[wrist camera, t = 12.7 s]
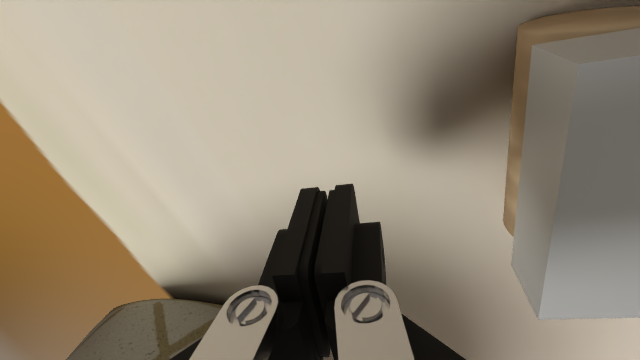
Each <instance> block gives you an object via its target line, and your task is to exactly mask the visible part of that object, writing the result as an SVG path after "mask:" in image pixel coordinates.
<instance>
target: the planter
mask: <svg viewBox="0 0 640 360" xmlns="http://www.w3.org/2000/svg"><path fill="white" fill-rule="evenodd" d="M222 307H223V305H218V304H212V303H206V302H200V301H192V300H183V299H152V300H143V301H137V302H132V303H128V304H124V305H121V306H118V307H116V308H114V309H113V310H112V311H110V312H109V314H107V315H106V316H105V317H104V318H103V320H102V321H100V322H99V323H98V324H97V325H96V326H95V327H94V328H93V329H92V330H91V331H90V333H89V334H88V335H87V336H86V337H85V338H84V339H83V341H82V342H81V343H80V344H79V345H78V346H77V347H76V349H75V350H74V351H73V352H72V353H71V354H70V355H69V357H68V358H67V359H66V360H169V359H171V358H172V357H174V356H175V355H177V354H178V353H180V352H181V351H183V350H184V349H186V348H187V347H189V346H190V345H192V344H193V343H195V342H196V341H198V340H199V339H201V338H202V337H204V335H205V334H206V332H207V330H208V329H209V327H210V326H211V324H212V323H213V321H214V319H215V318H216V316H217V315H218V313H219V311H220V310H221V308H222Z"/></svg>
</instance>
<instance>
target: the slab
mask: <svg viewBox="0 0 640 360" xmlns="http://www.w3.org/2000/svg"><path fill="white" fill-rule="evenodd" d="M511 266H512V268H513V270H514V272H515V274H516V276H517V278H518V280H519V282H520V284H521V286H522V288H523V290H524V292H525V294H526V296H527V298H528V300H529V302H530V304H531V306H532V308H533V310H534V312H535V314H536V316H537V318H538V320H550V319H597V318H640V28H636V29H630V30H623V31H617V32H611V33H604V34H598V35H592V36H585V37H579V38H573V39H567V40H560V41H554V42H548V43H541V44H535V45H532V52H531V62H530V73H529V83H528V94H527V104H526V115H525V125H524V136H523V146H522V157H521V167H520V178H519V188H518V199H517V209H516V220H515V230H514V241H513V251H512V262H511Z"/></svg>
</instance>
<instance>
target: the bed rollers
mask: <svg viewBox="0 0 640 360" xmlns="http://www.w3.org/2000/svg"><path fill="white" fill-rule="evenodd" d="M636 28H640V6H630V7H612V8H600V9H591V10H582V11H575V12H568V13H562V14H556V15H551V16H546V17H541V18H537V19H534V20H530V21H527V22H525V23H522V24H521V25H519V26H518V29H517V42H516V56H515V69H514V82H513V96H512V109H511V122H510V136H509V149H508V162H507V175H506V189H505V202H504V215H503V222H504V225H505V227H506V229H507V230H508V232H509V233H510V234H511V235H512V236H514V230H515V220H516V209H517V199H518V188H519V178H520V167H521V157H522V146H523V136H524V125H525V115H526V104H527V94H528V83H529V73H530V62H531V52H532V45H535V44H541V43H548V42H554V41H560V40H567V39H573V38H579V37H585V36H592V35H598V34H604V33H611V32H617V31H623V30H630V29H636Z"/></svg>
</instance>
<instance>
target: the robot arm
mask: <svg viewBox="0 0 640 360" xmlns="http://www.w3.org/2000/svg"><path fill="white" fill-rule="evenodd" d="M330 348H331V350H332V354H333V358H334V360H466V359H464V358H463V357H462V356H460V355H459V354H457V353H456V352H455V351H453V350H452V349H450V348H449V347H448V346H446V345H445V344H443V343H442V342H440V341H439V340H438V339H436V338H435V337H433V336H432V335H431V334H429V333H428V332H426V331H425V330H424V329H422V328H421V327H419V326H418V325H416V324H415V323H414V322H412V321H411V320H409V319H408V318H407V317H405V316H404V315H402V314H401V312H400V308H399V305H398V301H397V298H396V296H395V294H394V292H393V291H392V290H391V289H390V288H389V287H388V286H387V285H386V272H385V258H384V248H383V239H382V231H381V224H380V222H373V223H359V216H358V210H357V204H356V197H355V191H354V186H353V184H345V185H336V186H335V190H330V191H329V196H328V200H327V195H326V192H325V191H320V190H319V188H318V187H315V188H305V189H301V190H300V193H299V196H298V199H297V202H296V205H295V208H294V211H293V214H292V217H291V220H290V223H289V226H288V229H283V230H279V231H278V233H277V235H276V238H275V241H274V243H273V246H272V249H271V251H270V254H269V257H268V260H267V262H266V265H265V268H264V270H263V273H262V276H261V278H260V281H259V284H258V285H257V286H250V287H247V288H244V289H242V290H240V291H238V292H236V293H235V294H234V295H232V296H231V297H230V298H229V299H228V300H227V301H226V302H225V304H224V305H223V307H222V308H221V310H220V311H219V313H218V315H217V316H216V318H215V319H214V321H213V323H212V324H211V326H210V327H209V329H208V330H207V332H206V334H205V335H204V337H202V338H201V339H199V340H198V341H196V342H195V343H193V344H192V345H190V346H189V347H187V348H186V349H184V350H183V351H181V352H180V353H178V354H177V355H175V356H174V357H172V358H171V359H169V360H323V357H329V355H330Z"/></svg>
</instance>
